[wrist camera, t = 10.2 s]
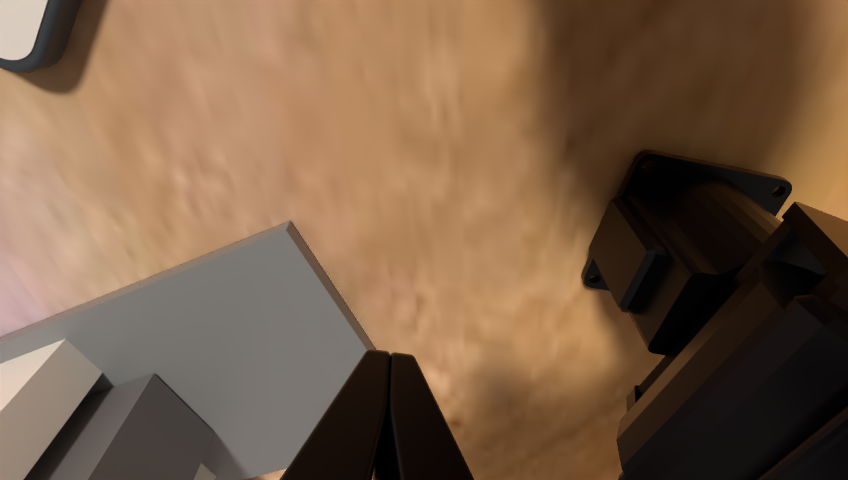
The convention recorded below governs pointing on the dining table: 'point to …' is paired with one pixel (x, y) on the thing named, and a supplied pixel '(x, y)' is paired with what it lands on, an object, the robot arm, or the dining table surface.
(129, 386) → the plug
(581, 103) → the dining table surface
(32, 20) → the smartphone
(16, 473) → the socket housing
